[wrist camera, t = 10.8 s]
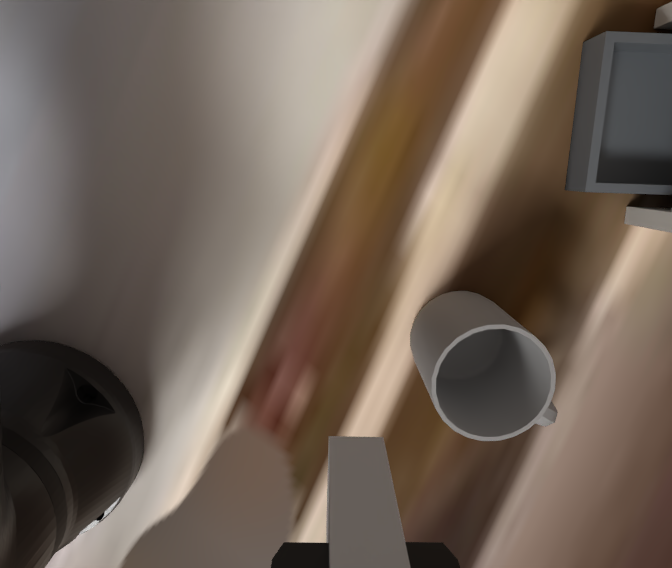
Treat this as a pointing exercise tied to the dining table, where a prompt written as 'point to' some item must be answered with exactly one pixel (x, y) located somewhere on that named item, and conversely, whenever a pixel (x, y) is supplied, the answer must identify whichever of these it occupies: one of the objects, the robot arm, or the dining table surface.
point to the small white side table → (652, 216)
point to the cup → (482, 367)
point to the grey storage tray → (623, 115)
